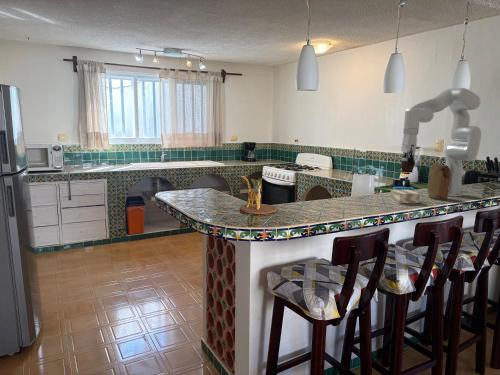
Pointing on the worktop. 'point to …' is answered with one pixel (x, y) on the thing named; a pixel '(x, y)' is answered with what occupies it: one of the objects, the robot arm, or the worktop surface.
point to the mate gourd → (404, 165)
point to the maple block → (404, 196)
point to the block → (439, 182)
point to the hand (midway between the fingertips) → (407, 163)
